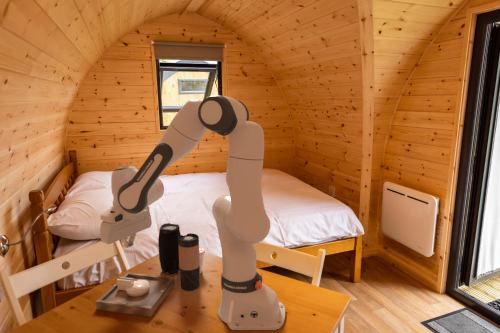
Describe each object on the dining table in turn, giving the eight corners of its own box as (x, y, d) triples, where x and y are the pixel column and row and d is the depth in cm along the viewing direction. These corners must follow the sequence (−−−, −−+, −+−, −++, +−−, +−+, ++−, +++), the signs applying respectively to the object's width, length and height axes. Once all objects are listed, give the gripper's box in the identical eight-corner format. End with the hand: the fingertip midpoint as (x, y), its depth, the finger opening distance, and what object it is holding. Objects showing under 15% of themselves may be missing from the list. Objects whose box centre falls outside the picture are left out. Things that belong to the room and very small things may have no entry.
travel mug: (196, 292, 125) (194, 242, 121) (176, 290, 127) (174, 240, 123) (203, 282, 132) (201, 234, 129) (184, 280, 134) (182, 232, 130)
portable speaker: (160, 266, 144) (158, 223, 141) (182, 264, 146) (181, 221, 143) (159, 276, 136) (156, 230, 133) (182, 274, 138) (181, 229, 134)
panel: (175, 284, 131) (175, 276, 130) (151, 316, 111) (150, 307, 111) (127, 279, 134) (127, 271, 134) (96, 309, 115) (95, 300, 114)
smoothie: (203, 275, 137) (203, 243, 134) (188, 275, 137) (187, 243, 134) (206, 268, 143) (205, 237, 141) (191, 268, 143) (190, 237, 141)
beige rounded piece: (153, 285, 125) (152, 275, 125) (142, 297, 118) (142, 287, 117) (125, 282, 128) (124, 272, 127) (112, 294, 120) (112, 283, 119)
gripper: (142, 201, 132) (144, 235, 135) (95, 217, 115) (99, 254, 117) (154, 204, 129) (156, 238, 132) (107, 220, 112) (111, 259, 114)
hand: (128, 246), depth 124 cm, fingers closed
